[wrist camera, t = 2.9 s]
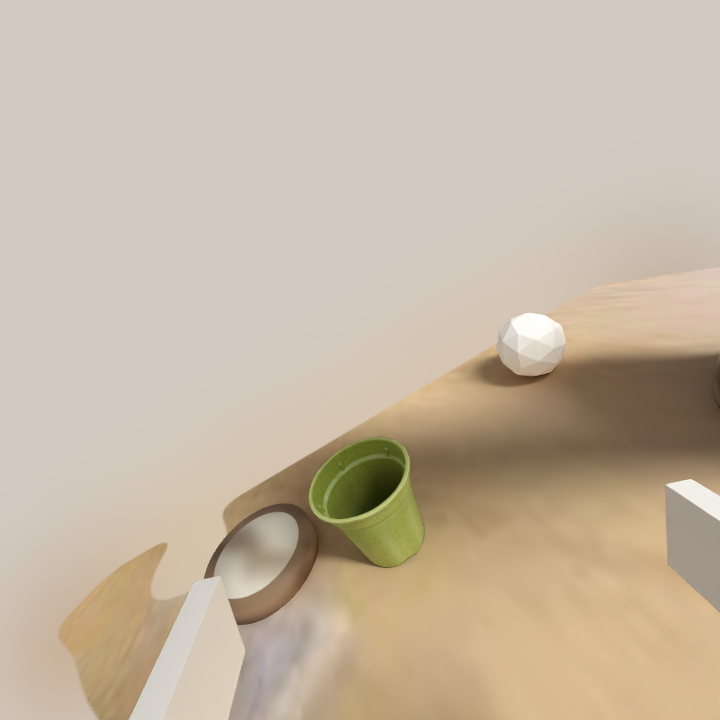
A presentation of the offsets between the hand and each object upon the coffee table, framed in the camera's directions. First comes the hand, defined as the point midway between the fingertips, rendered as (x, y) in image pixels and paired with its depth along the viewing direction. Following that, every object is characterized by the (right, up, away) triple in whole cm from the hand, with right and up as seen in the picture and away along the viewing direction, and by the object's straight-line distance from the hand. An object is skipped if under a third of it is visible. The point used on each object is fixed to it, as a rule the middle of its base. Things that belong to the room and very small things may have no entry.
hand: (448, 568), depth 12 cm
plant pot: (+1, -11, +26) cm, 29 cm away
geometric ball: (+20, +5, +39) cm, 44 cm away
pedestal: (-12, -15, +30) cm, 36 cm away
